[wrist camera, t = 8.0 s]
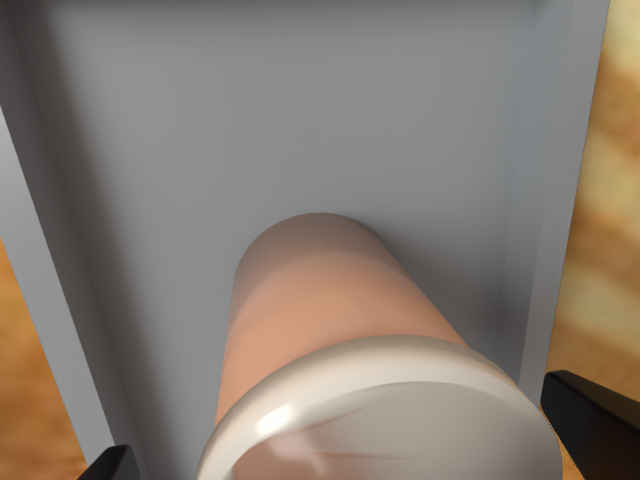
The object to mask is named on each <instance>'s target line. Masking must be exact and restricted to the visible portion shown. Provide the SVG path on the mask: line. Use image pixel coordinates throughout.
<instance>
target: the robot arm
mask: <svg viewBox="0 0 640 480" xmlns="http://www.w3.org/2000/svg"><path fill="white" fill-rule="evenodd" d="M540 401H541V407H542V410H543V412H544V414H545V415H546V417H547V419H548V420H549V422H550V424H551V425H552V427H553V428H554V430H555V432H556V433H557V435H558V437H559V438H560V440H561V442H562V443H563V445H564V447H565V448H566V450H567V452H568V453H569V455H570V456H571V458H572V460H573V461H574V463H575V465H576V466H577V468H578V469H579V471H580V473H581V474H582V476H583V477H584V479H585V480H640V402H637V401H635V400H633V399H631V398H628V397H626V396H624V395H621V394H619V393H617V392H615V391H612V390H610V389H608V388H606V387H603V386H601V385H599V384H597V383H594V382H592V381H590V380H588V379H585V378H583V377H581V376H578V375H576V374H574V373H572V372H569V371H567V370H558V371H552V372H548V373H547V374H546V375H545V377H544V382H543V388H542V394H541V400H540ZM77 480H141V475H140V470H139V467H138V464H137V461H136V458H135V455H134V451H133V449H132V446H131V445H129V444H122V445H116V446H111V447H108V448H107V449H105V450H104V451H103V452H102V453H101V454H100V455H99V456H98V458H97V459H96V460H95V461H94V462H93V463H92V464H91V465H90V466H89V467H88V468H87V469H86V470H85V471H84V472H83V473H82V475H81V476H80V477H79V478H78V479H77Z"/></svg>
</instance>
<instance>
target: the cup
mask: <svg viewBox="0 0 640 480" xmlns="http://www.w3.org/2000/svg"><path fill="white" fill-rule="evenodd" d="M562 476H563V471H562V456H561V452H560V448H559V443H558V441H557V439H556V436H555V434H554V432H553V430H552V427H551V426H550V424H549V423H548V422H547V420H546V419H545V417H544V416H543V415H542V413H541V412H540V411H539V410H538V409H537V407H536V406H535V405H534V404H533V403H532V402H531V401H530V400H529V398H528V397H527V396H526V395H525V394H524V393H523V392H522V391H521V389H520V388H519V387H518V386H517V385H516V384H515V383H514V382H513V380H512V379H511V378H510V377H509V376H508V375H507V374H506V373H505V372H504V371H503V370H502V369H501V368H500V367H499V366H497V365H496V364H495V363H494V362H492V361H491V360H489V359H488V358H486V357H485V356H483V355H482V354H480V353H478V352H476V351H474V350H472V349H470V348H469V347H468V346H467V344H466V343H465V342H464V341H463V340H462V338H461V337H460V336H459V335H458V333H457V332H456V331H455V330H454V329H453V327H452V326H451V325H450V324H449V323H448V321H447V320H446V319H445V318H444V317H443V315H442V314H441V313H440V312H439V311H438V309H437V308H436V307H435V306H434V305H433V303H432V302H431V301H430V300H429V299H428V297H427V296H426V295H425V294H424V293H423V291H422V290H421V289H420V288H419V287H418V285H417V284H416V283H415V282H414V281H413V279H412V278H411V277H410V276H409V275H408V273H407V272H406V271H405V270H404V269H403V267H402V266H401V265H400V264H399V263H398V261H397V260H396V259H395V258H394V257H393V255H392V254H391V253H390V252H389V251H388V249H387V248H386V247H385V246H384V244H383V243H382V242H381V241H380V240H379V238H378V237H377V236H376V235H375V234H374V233H373V232H371V231H370V230H369V229H368V228H366V227H365V226H364V225H362V224H360V223H358V222H356V221H355V220H352V219H350V218H347V217H344V216H340V215H336V214H330V213H308V214H302V215H297V216H294V217H291V218H287V219H285V220H283V221H281V222H278V223H276V224H275V225H273V226H271V227H270V228H268V229H267V230H265V231H264V232H263V233H262V234H260V235H259V236H258V237H257V238H256V239H255V240H254V241H253V242H252V243H251V244H250V246H249V247H248V248H247V250H246V251H245V252H244V254H243V256H242V258H241V259H240V261H239V264H238V266H237V269H236V272H235V276H234V281H233V288H232V296H231V303H230V311H229V319H228V327H227V335H226V343H225V350H224V358H223V366H222V374H221V382H220V389H219V397H218V405H217V413H216V421H215V429H214V431H213V432H212V434H211V436H210V437H209V439H208V441H207V443H206V445H205V448H204V450H203V453H202V455H201V458H200V460H199V464H198V469H197V473H196V478H195V480H562Z"/></svg>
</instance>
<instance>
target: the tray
mask: <svg viewBox="0 0 640 480" xmlns="http://www.w3.org/2000/svg"><path fill="white" fill-rule="evenodd" d="M609 1H610V0H0V237H1V240H2V242H3V245H4V248H5V250H6V253H7V256H8V258H9V261H10V263H11V266H12V269H13V271H14V274H15V277H16V279H17V282H18V284H19V287H20V290H21V292H22V295H23V298H24V300H25V303H26V305H27V308H28V311H29V313H30V316H31V319H32V321H33V324H34V326H35V329H36V332H37V334H38V337H39V340H40V342H41V345H42V347H43V350H44V353H45V355H46V358H47V361H48V363H49V366H50V368H51V371H52V374H53V376H54V379H55V382H56V384H57V387H58V389H59V392H60V395H61V397H62V400H63V402H64V405H65V408H66V410H67V413H68V416H69V418H70V421H71V423H72V426H73V429H74V431H75V434H76V437H77V439H78V442H79V444H80V447H81V450H82V452H83V455H84V458H85V460H86V463H87V465H88V467H89V466H90V465H91V464H92V463H93V462H94V461H95V460H96V459H97V458H98V456H99V455H100V454H101V453H102V452H103V451H104V450H105V449H107V448H108V447H111V446H116V445H122V444H129V445H131V446H132V449H133V451H134V455H135V458H136V461H137V464H138V467H139V470H140V475H141V480H195V478H196V473H197V469H198V464H199V460H200V458H201V455H202V453H203V450H204V448H205V445H206V443H207V441H208V439H209V437H210V436H211V434H212V432H213V431H214V429H215V421H216V413H217V405H218V397H219V389H220V382H221V374H222V366H223V358H224V350H225V343H226V335H227V327H228V319H229V311H230V303H231V296H232V288H233V281H234V276H235V272H236V269H237V266H238V264H239V261H240V259H241V258H242V256H243V254H244V252H245V251H246V250H247V248H248V247H249V246H250V244H251V243H252V242H253V241H254V240H255V239H256V238H257V237H258V236H259V235H260V234H262V233H263V232H264V231H265V230H267V229H268V228H270V227H271V226H273V225H275V224H276V223H278V222H281V221H283V220H285V219H287V218H291V217H294V216H297V215H302V214H308V213H330V214H336V215H340V216H344V217H347V218H350V219H352V220H355V221H356V222H358V223H360V224H362V225H364V226H365V227H366V228H368V229H369V230H370V231H371V232H373V233H374V234H375V235H376V236H377V237H378V238H379V240H380V241H381V242H382V243H383V244H384V246H385V247H386V248H387V249H388V251H389V252H390V253H391V254H392V255H393V257H394V258H395V259H396V260H397V261H398V263H399V264H400V265H401V266H402V267H403V269H404V270H405V271H406V272H407V273H408V275H409V276H410V277H411V278H412V279H413V281H414V282H415V283H416V284H417V285H418V287H419V288H420V289H421V290H422V291H423V293H424V294H425V295H426V296H427V297H428V299H429V300H430V301H431V302H432V303H433V305H434V306H435V307H436V308H437V309H438V311H439V312H440V313H441V314H442V315H443V317H444V318H445V319H446V320H447V321H448V323H449V324H450V325H451V326H452V327H453V329H454V330H455V331H456V332H457V333H458V335H459V336H460V337H461V338H462V340H463V341H464V342H465V343H466V344H467V346H468V347H469V348H470V349H472V350H474V351H476V352H478V353H480V354H482V355H483V356H485V357H486V358H488V359H489V360H491V361H492V362H494V363H495V364H496V365H497V366H499V367H500V368H501V369H502V370H503V371H504V372H505V373H506V374H507V375H508V376H509V377H510V378H511V379H512V380H513V382H514V383H515V384H516V385H517V386H518V387H519V388H520V389H521V391H522V392H523V393H524V394H525V395H526V396H527V397H528V398H529V400H530V401H531V402H532V403H533V404H534V405H535V406H536V407H537V409H539V403H540V397H541V392H542V386H543V380H544V374H545V369H546V363H547V357H548V351H549V346H550V340H551V334H552V329H553V323H554V317H555V311H556V306H557V300H558V294H559V288H560V283H561V277H562V271H563V265H564V260H565V254H566V248H567V242H568V237H569V231H570V225H571V219H572V214H573V208H574V202H575V196H576V191H577V185H578V179H579V173H580V168H581V162H582V156H583V150H584V145H585V139H586V133H587V128H588V122H589V116H590V110H591V105H592V99H593V93H594V87H595V82H596V76H597V70H598V64H599V59H600V53H601V47H602V41H603V36H604V30H605V24H606V18H607V13H608V7H609Z"/></svg>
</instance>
